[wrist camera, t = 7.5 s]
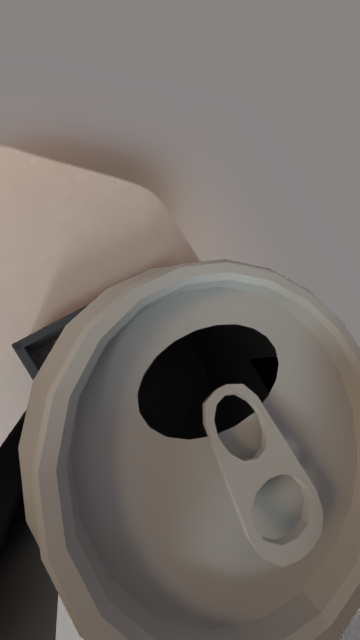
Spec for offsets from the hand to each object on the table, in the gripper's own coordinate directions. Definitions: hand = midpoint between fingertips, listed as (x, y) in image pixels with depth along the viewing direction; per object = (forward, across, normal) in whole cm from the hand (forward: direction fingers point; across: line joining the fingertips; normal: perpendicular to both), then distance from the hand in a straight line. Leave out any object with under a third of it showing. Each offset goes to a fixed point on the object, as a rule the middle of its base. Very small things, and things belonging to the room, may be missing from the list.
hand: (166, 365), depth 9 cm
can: (+4, 0, +6) cm, 7 cm away
